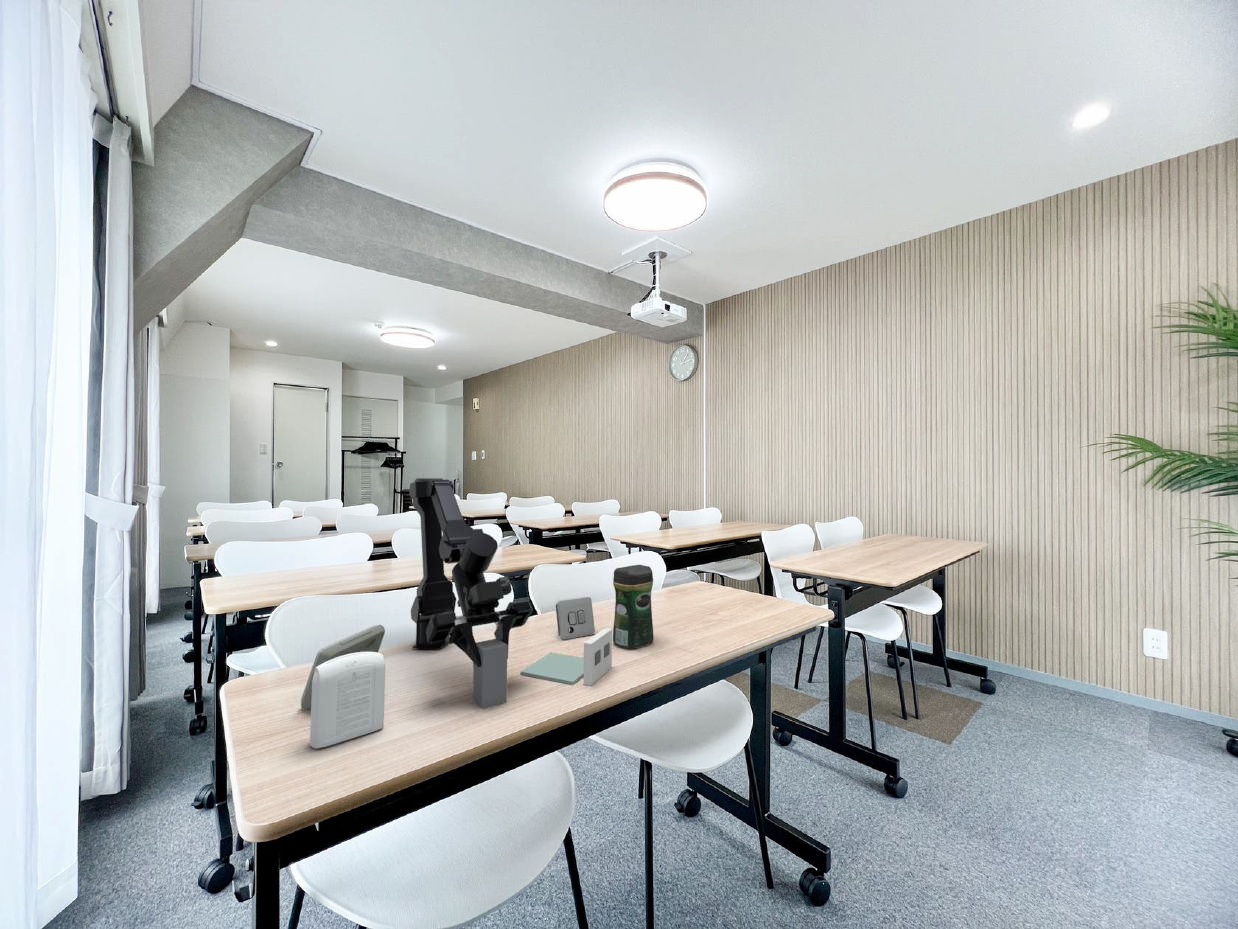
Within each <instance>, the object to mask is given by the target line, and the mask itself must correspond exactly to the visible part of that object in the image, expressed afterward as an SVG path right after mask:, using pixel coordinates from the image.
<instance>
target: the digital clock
mask: <svg viewBox="0 0 1238 929" xmlns="http://www.w3.org/2000/svg"><path fill="white" fill-rule="evenodd" d="M385 630H386V629H385V627H384V626H383V625H382V624H375V625H371V626H369V627H367V628H364V629H363V630H361V631H358V632H356V633H354V634H351V635H349V636H347V637H344V638H343V639H340V640H338V641H336V642H333V643H331V644H329V645H327V646H324V647H323V648H321V649H319V651H318V652H317V653H316V655H315V658H314V660H313V664H312V666H311V670H310V673H309V676H308V679H307V682H306V684H305V686H304V690H303V693H302V696H301V699H300V707H301V708H300V709H303V710H311V702H312V680H313V676H314V670H315V668H316V667H317V666H319V665H321V664H323V663H325V662H327V661H329V660H331V659H334V658H336V657H339V656H343V655H346V654H351V653H357V652H378V653H379V650H380V647H381V644H382V642H383V639H384V636H385V632H386V631H385Z"/></svg>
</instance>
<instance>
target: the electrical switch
mask: <svg viewBox="0 0 1238 929" xmlns="http://www.w3.org/2000/svg"><path fill="white" fill-rule="evenodd" d="M592 602H593V600H592V598H591V597H590V596H585V597H577V598H570V599H562V600H558V601H557V602H556V604H555V611H556V612H555V613H556V622H557V633H558V634H557V635H558V637H559V638H560V639H561V640H562V641H564V640H565V641H566V640H569V639H574V638H575V639H576V638H582V637H586V636H592V635H593V636H594V635H595V633H596V627H595V619H594V618H595V617H594V610H593V603H592Z"/></svg>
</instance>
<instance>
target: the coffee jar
mask: <svg viewBox="0 0 1238 929" xmlns="http://www.w3.org/2000/svg"><path fill="white" fill-rule="evenodd" d="M612 584H613V587H614V592H615V604H614V605H615V606H614V618H613V626H612V627H613V628H612V643H614V644H615V645H616V646H618V647H620V648H624V649H638V648H641V647H644V646H647V645H649V644H652V643H653V641H654V625H653V612H652V611H653V610H652V589H653V585H654V576H653V570H652V568H651V567H650V566H649V565H648V566H647V565H645V564H634V565H627V566H622V567H617V568H615V569H614V571H613V581H612Z"/></svg>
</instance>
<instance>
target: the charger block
mask: <svg viewBox="0 0 1238 929" xmlns="http://www.w3.org/2000/svg"><path fill="white" fill-rule="evenodd" d="M475 642H476V641H475ZM476 645H477V648H478V651H479V654H480V658H481V666H480V667H477V666H476V665H475V663H474V662H473V661H472V663H473V664H472V670H473V671H472V701H474V702H475V703H476V704H477V706H479V708H481V710H484V709H486V708H489V707H493V706H497V705H500V704H501V705H502V704H504V703H507V700H508V699H507V698H508V697H507V694H508V691H507V690H508V689H507V688H508V659H507V645H506V644H505V643H503V642H502V641H500V640H499V639H498V638H497V639H496V638H492V639H487V640H483V641H477V642H476Z"/></svg>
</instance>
